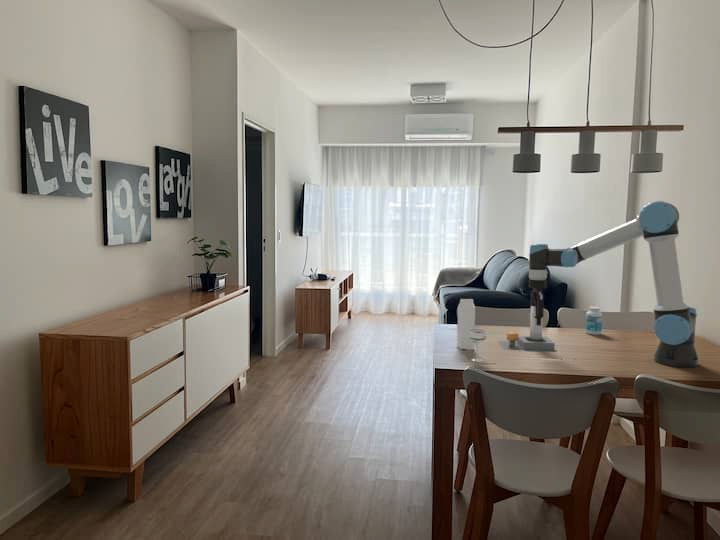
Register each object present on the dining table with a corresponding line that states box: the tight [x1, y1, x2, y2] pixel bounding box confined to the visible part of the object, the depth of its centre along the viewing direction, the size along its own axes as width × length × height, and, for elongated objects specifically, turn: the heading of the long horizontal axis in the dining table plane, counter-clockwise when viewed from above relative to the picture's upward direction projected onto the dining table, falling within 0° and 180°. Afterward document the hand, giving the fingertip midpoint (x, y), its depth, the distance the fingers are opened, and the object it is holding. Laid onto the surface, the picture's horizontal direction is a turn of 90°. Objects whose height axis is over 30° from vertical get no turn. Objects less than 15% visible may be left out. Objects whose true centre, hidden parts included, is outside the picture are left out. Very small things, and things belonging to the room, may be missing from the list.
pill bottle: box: [584, 306, 603, 336], centre depth 261 cm, size 8×7×14 cm
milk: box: [456, 298, 476, 351], centre depth 228 cm, size 6×6×22 cm
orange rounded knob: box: [506, 331, 519, 342], centre depth 230 cm, size 5×5×3 cm
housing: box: [497, 335, 557, 352], centre depth 230 cm, size 16×22×4 cm
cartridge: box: [529, 306, 543, 339], centre depth 229 cm, size 5×5×14 cm
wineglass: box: [469, 328, 487, 363], centre depth 209 cm, size 7×7×12 cm
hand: (536, 331), depth 229 cm, fingers closed on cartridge, 5 cm apart
